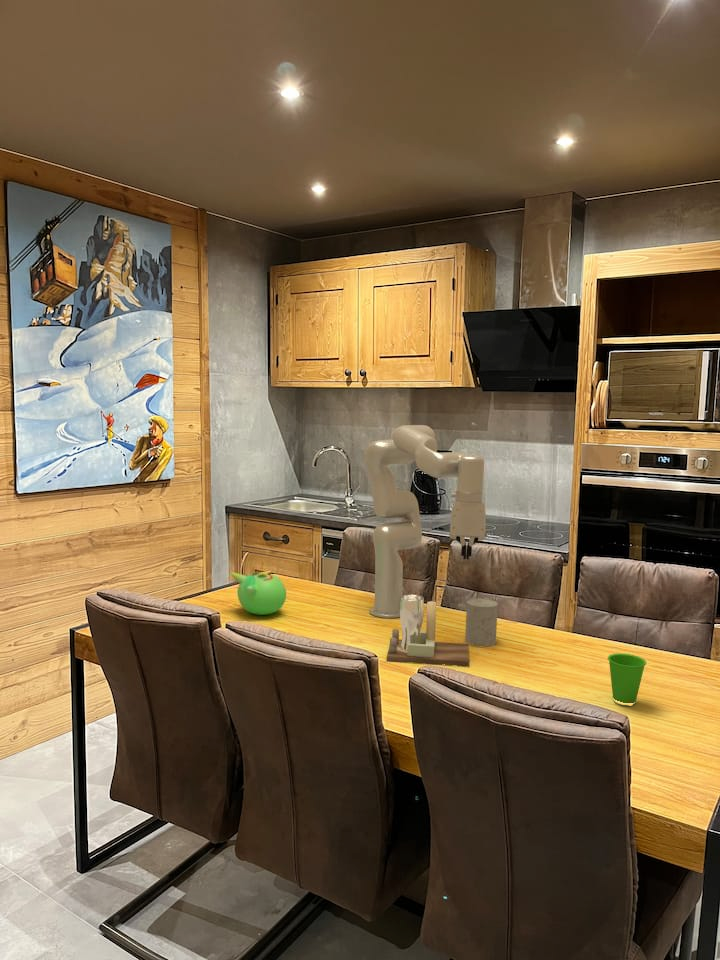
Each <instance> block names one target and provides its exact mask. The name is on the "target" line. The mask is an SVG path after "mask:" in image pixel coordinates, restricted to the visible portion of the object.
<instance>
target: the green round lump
mask: <svg viewBox="0 0 720 960" xmlns="http://www.w3.org/2000/svg"><path fill="white" fill-rule="evenodd" d="M271 572H272V570H267V571H262V572H255V573H252V574H250V575H244V574H241V573H237V572H230V573H229V574H230V576H231V577H232V578H234V579H235V580H237V582H239V585H238V587H237V599H238V601H239V604H240V605H241V606H242V607H243V609H244V610H246V611H247V612H248V613H251V614H253V615H257V616H267V615H271V614H273V613H275V612H277V611H279V610H280V609H281V608H282V607H283V606H284V604H285V603H286V599H287V590H286V586H285V584H284V582H283V581H282V580H281V579H280V578H279V577H278V576H276V575H274V574H272V573H271Z"/></svg>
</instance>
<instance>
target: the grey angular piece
mask: <svg viewBox="0 0 720 960" xmlns="http://www.w3.org/2000/svg"><path fill="white" fill-rule="evenodd" d="M436 618H437V602H436V601H433V600H432V601H431V600H430V601H427V602H426V627H425V629H426V631H423V630H421V634H420V641H421V643H426V644H411V643H408V654H407V656H417V657H432V658H434V649H435V642H436V627H437V626H436V624H437V623H436V621H437V619H436Z"/></svg>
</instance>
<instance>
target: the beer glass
mask: <svg viewBox="0 0 720 960" xmlns="http://www.w3.org/2000/svg"><path fill="white" fill-rule="evenodd" d="M424 599H425V598H424V597H423V595H417V594H404V595H402V597H401V604H400V617H399V620H400V627H401V634H402V635H401V636H402V637H401V640H402V641H401V646H400V647H401V649H403V650H406V651H408V643H411V644H421V641H420V634H421V631H422V628H423V622H424V616H425V603H424Z"/></svg>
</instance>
